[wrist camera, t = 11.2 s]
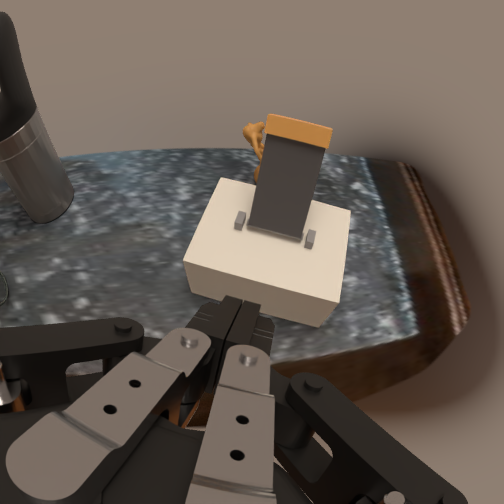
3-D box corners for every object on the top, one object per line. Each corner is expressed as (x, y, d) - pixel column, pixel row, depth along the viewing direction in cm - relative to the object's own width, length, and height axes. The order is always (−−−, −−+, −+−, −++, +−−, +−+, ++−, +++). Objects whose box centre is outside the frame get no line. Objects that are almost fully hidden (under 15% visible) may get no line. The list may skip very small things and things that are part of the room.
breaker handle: (301, 244, 32) (332, 130, 26) (244, 229, 32) (268, 114, 27) (302, 236, 34) (331, 128, 28) (248, 221, 34) (271, 113, 28)
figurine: (284, 204, 46) (298, 141, 36) (243, 207, 45) (248, 143, 35) (273, 165, 50) (282, 104, 40) (236, 167, 49) (239, 105, 39)
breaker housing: (318, 327, 37) (342, 298, 29) (191, 292, 38) (181, 254, 30) (332, 246, 43) (353, 204, 35) (221, 217, 44) (220, 170, 36)
